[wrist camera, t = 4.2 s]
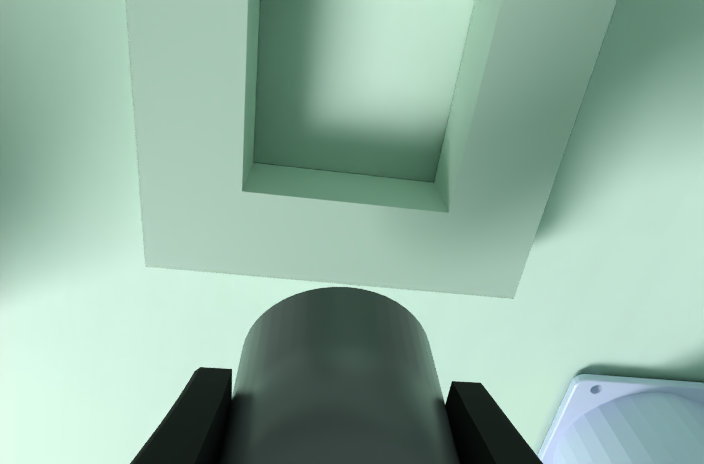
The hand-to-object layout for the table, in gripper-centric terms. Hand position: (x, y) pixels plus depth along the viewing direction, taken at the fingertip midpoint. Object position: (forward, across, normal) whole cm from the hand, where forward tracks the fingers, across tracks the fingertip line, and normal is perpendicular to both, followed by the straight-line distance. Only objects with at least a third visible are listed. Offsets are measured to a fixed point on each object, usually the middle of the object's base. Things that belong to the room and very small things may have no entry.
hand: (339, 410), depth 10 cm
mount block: (+8, 0, -5) cm, 10 cm away
